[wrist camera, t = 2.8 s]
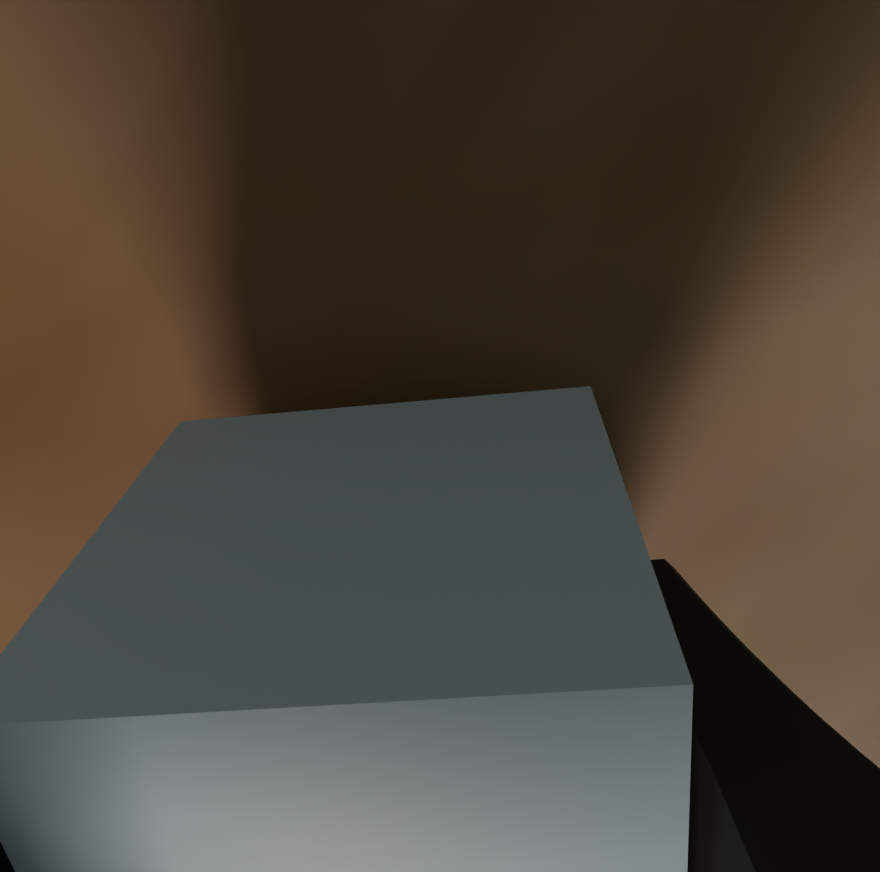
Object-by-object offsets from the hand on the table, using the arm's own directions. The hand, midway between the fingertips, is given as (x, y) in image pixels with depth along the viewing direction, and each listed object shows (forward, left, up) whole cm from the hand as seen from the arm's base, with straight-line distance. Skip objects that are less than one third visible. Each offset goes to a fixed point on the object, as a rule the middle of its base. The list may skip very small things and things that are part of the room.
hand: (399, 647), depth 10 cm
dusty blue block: (0, 0, -1) cm, 1 cm away
